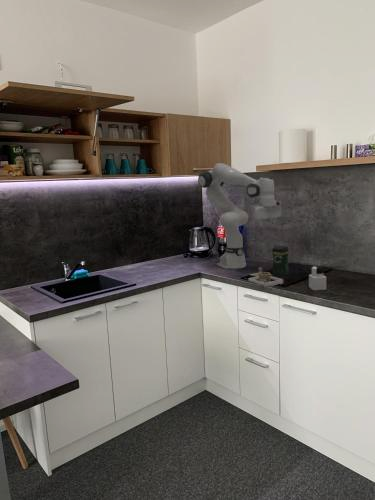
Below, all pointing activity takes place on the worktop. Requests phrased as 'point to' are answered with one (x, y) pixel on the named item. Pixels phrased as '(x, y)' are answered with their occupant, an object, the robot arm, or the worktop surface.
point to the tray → (268, 284)
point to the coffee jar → (280, 260)
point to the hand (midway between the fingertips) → (267, 225)
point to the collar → (264, 277)
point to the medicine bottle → (317, 279)
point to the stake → (257, 273)
